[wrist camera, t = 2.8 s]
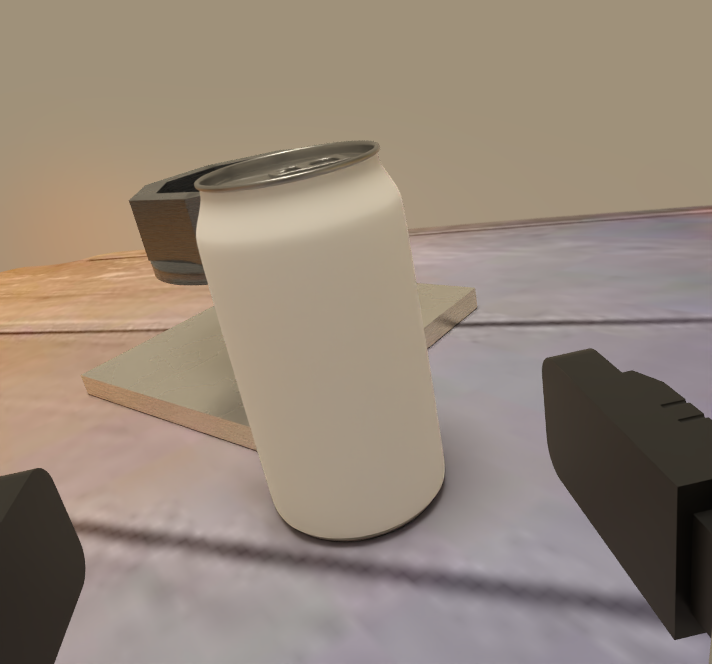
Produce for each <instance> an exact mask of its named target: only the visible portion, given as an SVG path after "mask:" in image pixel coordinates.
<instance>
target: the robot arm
mask: <svg viewBox="0 0 712 664" xmlns="http://www.w3.org/2000/svg"><path fill="white" fill-rule="evenodd" d="M542 379H543V393H544V406H545V419H546V433H547V444H548V449H549V454H550V457H551V460H552V463H553V466H554V469H555V471H556V473H557V475H558V477H559V478H560V480H561V481H562V483H563V484H564V486H565V487H566V488H567V490H568V491H569V493H570V494H571V495H572V497H573V498H574V500H575V501H576V502H577V504H578V505H579V507H580V508H581V510H582V511H583V512H584V514H585V515H586V517H587V518H588V519H589V521H590V522H591V524H592V525H593V526H594V528H595V529H596V531H597V532H598V533H599V535H600V536H601V538H602V539H603V540H604V542H605V543H606V545H607V546H608V547H609V549H610V550H611V552H612V553H613V554H614V556H615V557H616V559H617V560H618V561H619V563H620V564H621V566H622V567H623V568H624V570H625V571H626V573H627V574H628V575H629V577H630V578H631V580H632V581H633V582H634V584H635V585H636V587H637V588H638V590H639V591H640V592H641V594H642V595H643V597H644V598H645V599H646V601H647V602H648V604H649V605H650V606H651V608H652V609H653V611H654V612H655V613H656V615H657V616H658V618H659V619H660V620H661V622H662V623H663V625H664V626H665V627H666V629H667V630H668V632H669V633H670V634H671V636H672V637H673V639H674V640H677V639H681V638H685V637H690V636H694V635H698V634H702V633H706V632H707V634H708V635H709V636H710V638H711V646H710V657H709V664H712V420H711V419H710V418H709V417H708V418H705V417H704V413H702V412H701V411H700V410H698V409H697V408H696V407H695V406H693V405H692V404H691V403H686V401H685V399H684V398H683V397H682V396H681V395H679V394H678V393H677V392H675V391H674V390H673V389H672V388H670V387H669V386H668V385H667V384H665V383H664V382H662V381H659V380H656V379H654V378H651V377H648V376H646V375H643V374H640V373H638V372H635V371H627V372H623V373H622V372H621V371H619V370H618V369H617V368H616V367H615V366H614V365H612V364H611V363H610V362H609V361H608V360H606V359H605V358H604V357H603V356H602V355H601V354H599V353H598V352H597V351H596V350H594V349H585V350H581V351H576V352H572V353H567V354H562V355H558V356H553V357H549V358H546V359H545V360H544V362H543V366H542ZM84 579H85V558H84V553H83V549H82V546H81V543H80V541H79V538H78V536H77V534H76V532H75V529H74V527H73V525H72V522H71V520H70V518H69V516H68V513H67V511H66V509H65V507H64V504H63V502H62V500H61V497H60V495H59V493H58V491H57V488H56V486H55V484H54V482H53V480H52V478H51V476H50V475H49V473H48V472H47V471H45V470H44V469H42V468H36V469H32V470H27V471H23V472H18V473H14V474H9V475H5V476H0V664H54V662H55V660H56V657H57V654H58V652H59V649H60V646H61V644H62V641H63V638H64V636H65V633H66V630H67V628H68V625H69V622H70V620H71V617H72V614H73V612H74V609H75V606H76V604H77V601H78V598H79V596H80V593H81V590H82V588H83V584H84Z"/></svg>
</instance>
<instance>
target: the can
mask: <svg viewBox="0 0 712 664" xmlns="http://www.w3.org/2000/svg"><path fill="white" fill-rule="evenodd" d="M379 149H380V146H379V144H378V143H377V142H374V141H346V142H336V143H328V144H321V145H314V146H309V147H303V148H298V149H293V150H288V151H283V152H278V153H274V154H270V155H265V156H261V157H257V158H253V159H250V160H246V161H243V162H239V163H236V164H233V165H229V166H226V167H223V168H220V169H218V170H215V171H213V172H210V173H208V174H206V175H204V176H202V177H200V178H199V179H197V180H196V181H195V183H194V186H195V188H196V189H197V190H199V192H200V199H201V202H200V210H199V216H198V221H197V228H196V240H197V246H198V250H199V254H200V257H201V261H202V265H203V268H204V272H205V275H206V279H207V282H208V286H209V289H210V293H211V296H212V300H213V303H214V306H215V310H216V313H217V317H218V320H219V324H220V327H221V330H222V334H223V337H224V341H225V344H226V347H227V351H228V354H229V358H230V361H231V364H232V368H233V371H234V374H235V378H236V381H237V385H238V388H239V391H240V395H241V398H242V401H243V405H244V408H245V411H246V415H247V418H248V422H249V425H250V428H251V432H252V435H253V438H254V442H255V445H256V448H257V452H258V455H259V458H260V462H261V465H262V468H263V471H264V475H265V478H266V481H267V484H268V488H269V491H270V494H271V497H272V500H273V503H274V505H275V507H276V510H277V511H278V513H279V514H280V516H281V517H282V518H283V519H284V520H285V521H286V522H287V523H288V524H289V525H290V526H292V527H293V528H295V529H297V530H299V531H301V532H303V533H306V534H308V535H310V536H313V537H316V538H319V539H324V540H329V541H358V540H365V539H370V538H374V537H378V536H381V535H384V534H387V533H389V532H392V531H394V530H396V529H398V528H400V527H402V526H404V525H406V524H407V523H409V522H410V521H412V520H413V519H415V518H416V517H417V516H418V515H419V514H421V513H422V512H423V511H424V510H425V509H426V507H427V506H428V505H429V504H430V502H431V501H432V500H433V499H434V497H435V496H436V494H437V493H438V491H439V490H440V488H441V486H442V483H443V480H444V475H445V464H444V455H443V448H442V441H441V435H440V428H439V422H438V415H437V409H436V402H435V396H434V389H433V383H432V377H431V371H430V364H429V358H428V352H427V345H426V339H425V333H424V327H423V320H422V314H421V308H420V302H419V295H418V289H417V283H416V277H415V271H414V265H413V259H412V253H411V247H410V241H409V235H408V229H407V223H406V218H405V212H404V207H403V202H402V198H401V194H400V191H399V190H398V188H397V186H396V185H395V183H394V181H393V180H392V179H391V177H390V176H389V174H388V173H387V171H386V170H385V169H384V167H383V165H382V164H381V162H380V160H379V156H378V153H377V152H378V151H379Z"/></svg>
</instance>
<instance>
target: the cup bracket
mask: <svg viewBox="0 0 712 664" xmlns="http://www.w3.org/2000/svg"><path fill="white" fill-rule="evenodd" d="M289 150H293V149H289ZM283 151H288V150H279V151H274V152H269V153H265V154H260V155H256V156H251V157H246V158H241V159H236V160H231V161H227V162H223V163H218V164H212V165H208V166H204V167H201V168H198V169H195V170H192V171H189V172H186V173H182V174H179V175H176V176H173V177H170V178H167V179H164V180H161V181H158V182H154V183H151V184H149V185H145V186H144V187H143V188H142V189H141V190H140V191H139V192H138V193H137V194H136V195H135V196H133V197H132V198H131V199H130V200H129V202H130V205H131V208H132V211H133V214H134V217H135V220H136V223H137V226H138V229H139V232H140V235H141V238H142V241H143V244H144V247H145V250H146V253H147V257H148V260H149V261H151V264H152V267H153V270H154V273H155V276H156V277H157V279H159V280H161V281H163V282H166V283H170V284H176V285H208V282H207V279H206V275H205V272H204V268H203V265H202V261H201V257H200V254H199V250H198V246H197V240H196V228H197V221H198V216H199V210H200V202H201V199H200V192H199V190H197V189H196V188H195V186H194V183H195V181H196V180H197V179H199V178H200V177H202V176H204V175H206V174H208V173H210V172H213V171H215V170H218V169H220V168H223V167H226V166H229V165H233V164H236V163H239V162H243V161H246V160H250V159H253V158H257V157H261V156H265V155H270V154H274V153H278V152H283ZM417 289H418V295H419V302H420V308H421V314H422V320H423V327H424V333H425V339H426V345H427V348H429V347H430V346H431V345H432V344H434V343H435V342H436V341H437V340H438V339H440V338H441V337H442V336H443V335H444V334H446V333H447V332H448V331H449V330H450V329H452V328H453V327H454V326H455V325H456V324H458V323H459V322H460V321H461V320H463V319H464V318H465V317H466V316H467V315H469V314H470V313H471V312H472V311H473V310H475V309H476V308H477V300H476V291H475V288H471V287H458V286H445V285H433V284H420V283H417ZM81 377H82V380H83V382H84V385H85V387H86V390H87V392H88V394H90V395H93V396H96V397H99V398H102V399H105V400H108V401H111V402H114V403H117V404H120V405H123V406H126V407H129V408H132V409H135V410H138V411H141V412H144V413H146V414H149V415H152V416H155V417H158V418H161V419H164V420H167V421H170V422H173V423H176V424H179V425H182V426H185V427H188V428H191V429H194V430H197V431H200V432H203V433H206V434H209V435H212V436H215V437H218V438H221V439H224V440H227V441H230V442H232V443H235V444H238V445H241V446H244V447H247V448H250V449H253V450H256V451H257V448H256V445H255V442H254V438H253V435H252V432H251V428H250V425H249V422H248V418H247V415H246V411H245V408H244V405H243V401H242V398H241V395H240V391H239V388H238V385H237V381H236V378H235V374H234V371H233V368H232V364H231V361H230V358H229V354H228V351H227V347H226V344H225V341H224V337H223V334H222V330H221V327H220V324H219V320H218V317H217V313H216V310H215V306H213V307H211V308H209V309H207V310H205V311H203V312H201V313H199V314H197V315H196V316H194V317H192V318H190V319H188V320H186V321H184V322H182V323H180V324H178V325H176V326H174V327H172V328H171V329H169V330H167V331H165V332H163V333H161V334H159V335H157V336H155V337H153V338H151V339H149V340H147V341H146V342H144V343H142V344H140V345H138V346H136V347H134V348H132V349H130V350H128V351H126V352H124V353H123V354H121V355H119V356H117V357H115V358H113V359H111V360H109V361H107V362H105V363H103V364H101V365H99V366H98V367H96V368H94V369H92V370H90V371H88V372H86V373H84V374H82V375H81Z"/></svg>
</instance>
